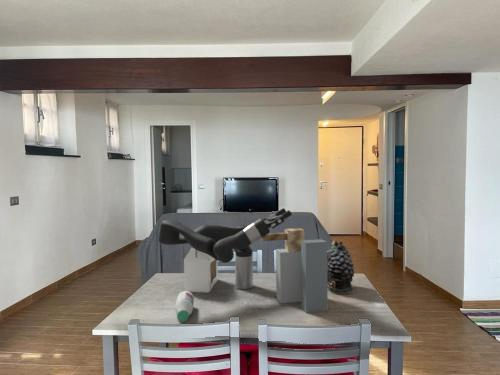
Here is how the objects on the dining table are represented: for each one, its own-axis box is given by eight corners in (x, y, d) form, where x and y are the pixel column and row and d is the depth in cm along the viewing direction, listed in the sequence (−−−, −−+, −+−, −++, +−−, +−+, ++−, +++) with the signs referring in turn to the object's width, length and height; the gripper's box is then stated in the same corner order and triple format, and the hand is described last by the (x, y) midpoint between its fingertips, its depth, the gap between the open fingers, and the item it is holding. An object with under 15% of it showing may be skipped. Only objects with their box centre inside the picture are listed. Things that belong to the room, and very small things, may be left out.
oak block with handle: (263, 253, 162) (263, 232, 161) (261, 250, 168) (260, 230, 167) (304, 251, 166) (304, 230, 165) (300, 248, 171) (300, 228, 171)
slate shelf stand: (288, 314, 151) (287, 243, 149) (276, 297, 171) (275, 235, 170) (327, 311, 154) (327, 241, 152) (311, 294, 174) (310, 233, 173)
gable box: (209, 292, 179) (208, 239, 178) (184, 292, 180) (183, 238, 179) (218, 279, 201) (217, 231, 200) (195, 278, 203) (194, 231, 201)
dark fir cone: (319, 283, 192) (318, 238, 191) (345, 282, 193) (345, 237, 192) (331, 296, 171) (331, 246, 170) (360, 295, 172) (360, 245, 171)
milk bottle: (179, 308, 160) (175, 328, 140) (175, 292, 160) (171, 310, 140) (195, 304, 161) (194, 323, 141) (191, 288, 161) (189, 305, 141)
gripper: (255, 226, 141) (288, 205, 143) (249, 221, 155) (279, 202, 157) (264, 241, 142) (297, 220, 144) (257, 235, 156) (287, 216, 158)
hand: (287, 211), depth 150 cm, fingers open, 8 cm apart
